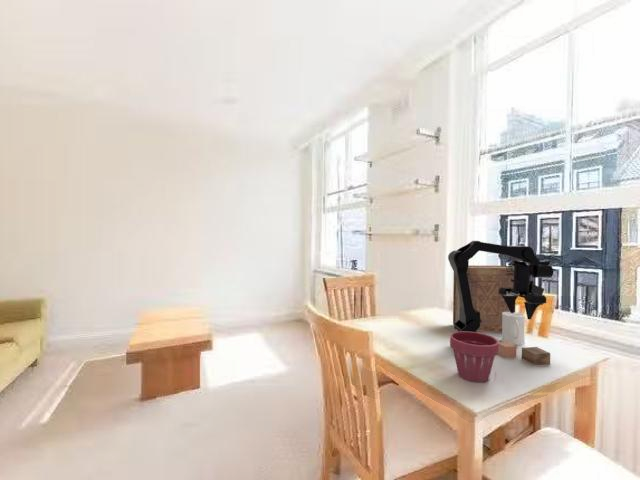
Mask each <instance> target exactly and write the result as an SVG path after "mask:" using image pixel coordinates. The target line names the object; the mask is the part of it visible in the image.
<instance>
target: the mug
mask: <svg viewBox="0 0 640 480" xmlns="http://www.w3.org/2000/svg"><path fill="white" fill-rule="evenodd" d="M500 340H501V343H502V342H509V343H511V344H513V345H515V346H516V345H518V346H519V345H520V346H521V345H524V344H526V343H525V314H523V313H520V312H516V311H515V312H514V313H510V312H503V313H502V331H501V339H500Z"/></svg>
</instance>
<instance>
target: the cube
mask: <svg viewBox="0 0 640 480" xmlns="http://www.w3.org/2000/svg"><path fill="white" fill-rule="evenodd" d="M517 348H518V347H517V346H516V344H511V343H509V342H502V341H501V342H499V351H498V354H497V355H500V356H502V357H503V358H516V357H517Z"/></svg>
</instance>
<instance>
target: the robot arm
mask: <svg viewBox="0 0 640 480" xmlns="http://www.w3.org/2000/svg"><path fill="white" fill-rule="evenodd" d="M479 252H484V253H485V252H486V253H491V254H498V255H504V256H507V257H509V258H513V259H512V260H511V261H510V262H509V263H508V264H507V266H510V267H513V268H514V279H511V282H513V288H512V287H501V288H500V289H499V294H502V295H501V296H502V297H503V299H504V300H505V302H506V304H507V306H508V308H509V310H510V313H514V308H515V309H516V300H517V299H518V297H520V298H523V299H524V300H525V301H523V303H524V309H525V314H526V317H527V320H532V318H533V316H534V314H535V312H536V309H538V307H540V306H543V305H544V304H547V297H546V295H544V291H545V288H543V287H541V286H538V285H535V283H534V281H533V280H531V277H532V278H535V279H536V278H537V279H539V278H540V279H550V278H552V277H553V275H554V269H553V266H552V265H551V261H550V260H540V259H539V258H538V257H537V256H536V255H535V251H534V249H533V247H531V246H527V245H526V246H525V245H502V244H498V243H497V244H496V243H489V242H484V241H479V240H471V241H470V242H469V243H467V244H466V245H464V246H462V247H460V248H458V249H456V250H452V251H451V252H450V253H448V256H447V260H448V262H449V265H450V267H451V268H452V270H453V274H454V273H455V277H456V282H457V288H458V293H459V299H460V304H461V309H460V313H459V320H458V321H457V322H456V323H455V324H454V325H453V327H454V329H455V330H456V331H455V332H459V331H470V332H478V331H477V329H478V328H479V327H480V322H482V321H481V319H480V312H479V311H477V310H475V309H474V308H473V304H472V298H471V293H470V287H469V282H468V276H467V270H468V266H470V265H469V262H470V261H469V260H470V259H472V258H473V257H474V256H476V255H477V254H478V253H479Z"/></svg>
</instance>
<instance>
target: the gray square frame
mask: <svg viewBox="0 0 640 480" xmlns="http://www.w3.org/2000/svg"><path fill="white" fill-rule="evenodd" d="M520 359H521V360H522V361H525V360H524V359H522V357H521V358H520ZM525 362H526V363H529V362H527V361H525ZM529 364H531V363H529ZM531 365H532V366H535V367H537V366H538V367H539V366H541V365H533V364H531ZM549 366H552V364H551V363H550V365H549Z"/></svg>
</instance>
